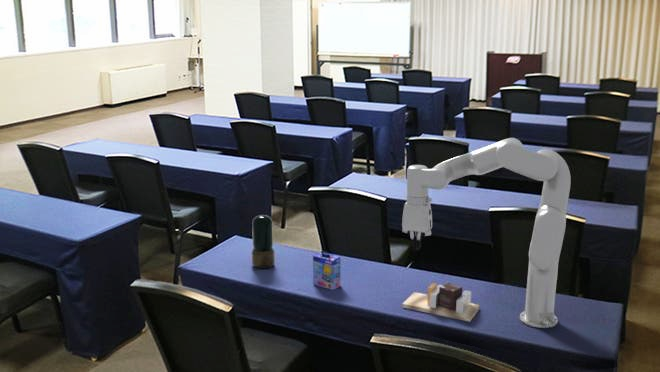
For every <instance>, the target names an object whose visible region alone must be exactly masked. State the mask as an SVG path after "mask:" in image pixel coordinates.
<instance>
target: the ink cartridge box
mask: <svg viewBox="0 0 660 372" xmlns="http://www.w3.org/2000/svg"><path fill="white" fill-rule="evenodd" d="M312 263H313V264H312V267H313V269H312V270H313V271H312V272H313V274H312V275H313V276H312V278H313V279H312V280H313V283H312V284H313V285H314V286H315V285H316V286H318V287H322V288H326V289H329V290H331V291H332V290H336V289H338V288H339V287H341V285H342V284H341V276H342V274H341V256H338V255H333V254H330V253H329V252H327V251H324V250H320V252H318V253H315V254H314V255H312Z"/></svg>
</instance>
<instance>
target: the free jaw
mask: <svg viewBox="0 0 660 372" xmlns="http://www.w3.org/2000/svg"><path fill="white" fill-rule="evenodd" d="M443 285H444V284H438V285H437V283H434V282H432V283H431V284H430V285H429V286H428V288H427V295H428V300H427V304H429V307H431V308H437V306H438V305H439V287H441V286H443Z"/></svg>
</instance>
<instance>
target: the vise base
mask: <svg viewBox="0 0 660 372" xmlns="http://www.w3.org/2000/svg"><path fill="white" fill-rule="evenodd" d="M427 300H428V293H421V292H415V291H414V292H413V293H411V295H410V296H409V297H407V299H405V300H404V301H403V303H402V306H401V307H402V309H407V310H413V311H417V312H422V313H427V314H431V315H437V316H439V317H440V316H441V317H446V318H450V319H451V318H452V319H454V320H455V319H456V320H460V321H465V322H471V321H472V319H473V318H474V317H475V316H476V314H477V312H478V311H479V310H480V304H477V303H473V302H471V304H470V306H469V307H468V308H467V310H466V311H465V312H464V314H463V315H461V314H456V309H454V310H450V309H447V308H444V307H441V306H439V305H438V306H437V308H431V307H429V304H427Z"/></svg>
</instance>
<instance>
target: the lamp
mask: <svg viewBox="0 0 660 372" xmlns="http://www.w3.org/2000/svg"><path fill="white" fill-rule="evenodd" d="M251 223H252V228H251V229H252V247H253V248H252V250H251V264H252V266H253V267H255V268H256V269H261V268H264V269H268V268H271V267H273V266H274V264H275V262H276V261H275V258H276V257H275V249H274V247H273V245H274V227H273V226H274V225H273V224H274V223H273V220H272V217H270V216H269V215H267V214H259V215H257V216H255V217H254V218H253V219H252V222H251Z"/></svg>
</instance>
